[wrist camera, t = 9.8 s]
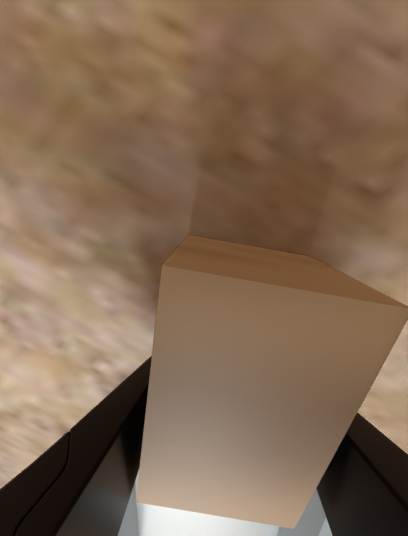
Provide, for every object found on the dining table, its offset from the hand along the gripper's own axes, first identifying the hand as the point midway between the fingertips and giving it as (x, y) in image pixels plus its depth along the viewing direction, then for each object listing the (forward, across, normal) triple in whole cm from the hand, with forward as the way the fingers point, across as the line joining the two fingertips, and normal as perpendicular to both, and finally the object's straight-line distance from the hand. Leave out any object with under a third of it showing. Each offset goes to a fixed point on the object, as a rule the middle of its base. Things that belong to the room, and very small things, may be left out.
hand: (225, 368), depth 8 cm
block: (+1, 0, -1) cm, 2 cm away
